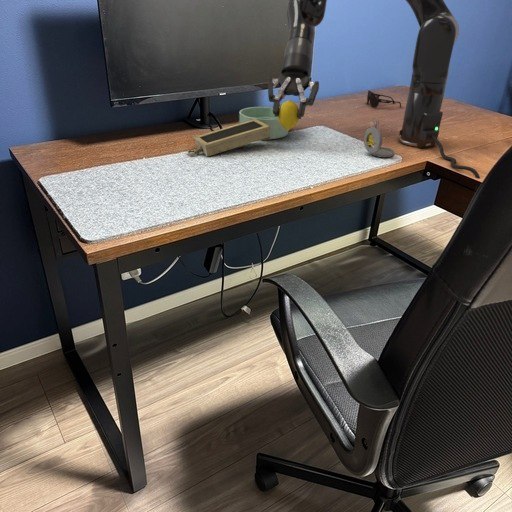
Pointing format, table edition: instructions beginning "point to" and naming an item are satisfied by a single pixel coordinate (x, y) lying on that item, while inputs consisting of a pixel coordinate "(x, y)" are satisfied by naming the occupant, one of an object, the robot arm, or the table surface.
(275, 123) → the bowl
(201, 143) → the box
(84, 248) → the table surface
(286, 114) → the lemon
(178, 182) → the table surface
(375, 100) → the sunglasses
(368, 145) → the pocket watch
